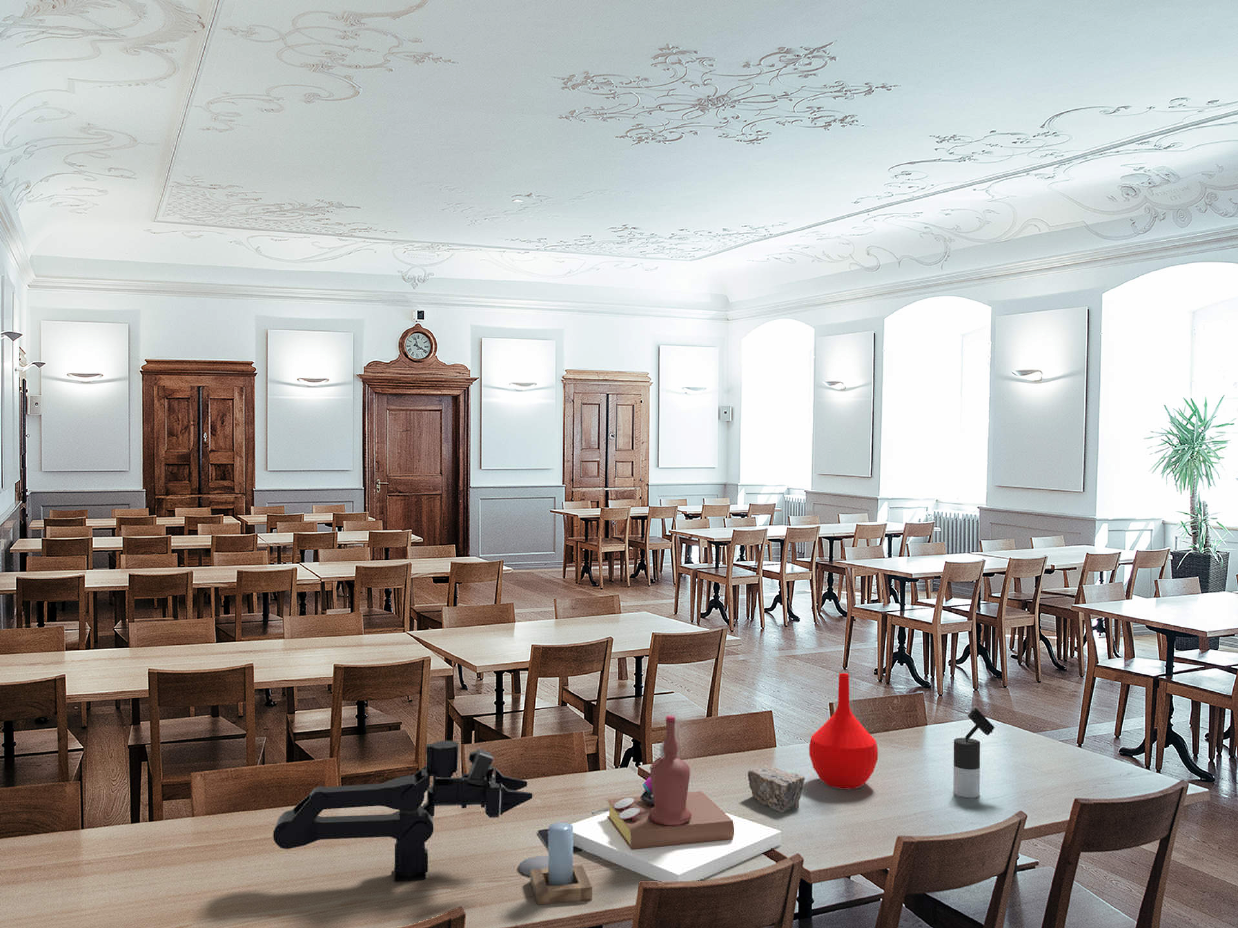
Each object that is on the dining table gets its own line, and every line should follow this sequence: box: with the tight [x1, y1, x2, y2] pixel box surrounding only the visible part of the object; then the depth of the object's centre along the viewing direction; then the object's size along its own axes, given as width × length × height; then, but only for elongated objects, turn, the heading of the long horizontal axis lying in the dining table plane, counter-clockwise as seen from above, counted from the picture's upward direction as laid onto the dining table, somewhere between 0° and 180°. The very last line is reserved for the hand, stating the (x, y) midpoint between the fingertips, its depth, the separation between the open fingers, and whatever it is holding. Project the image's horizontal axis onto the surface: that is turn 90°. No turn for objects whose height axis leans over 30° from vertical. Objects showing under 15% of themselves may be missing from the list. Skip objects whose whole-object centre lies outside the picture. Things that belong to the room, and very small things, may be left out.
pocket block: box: [529, 865, 593, 905], centre depth 208 cm, size 11×11×2 cm
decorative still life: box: [570, 715, 782, 882], centre depth 235 cm, size 35×40×31 cm
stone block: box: [747, 764, 806, 814], centre depth 261 cm, size 14×9×8 cm, turn 35°
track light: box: [953, 707, 996, 798], centre depth 269 cm, size 6×17×20 cm
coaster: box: [518, 855, 548, 877], centre depth 219 cm, size 10×10×1 cm
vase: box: [808, 672, 879, 790], centre depth 277 cm, size 18×18×30 cm
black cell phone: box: [537, 828, 584, 854], centre depth 234 cm, size 8×1×15 cm
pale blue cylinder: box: [547, 822, 574, 886], centre depth 208 cm, size 5×5×13 cm
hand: (529, 789), depth 220 cm, fingers open, 9 cm apart
